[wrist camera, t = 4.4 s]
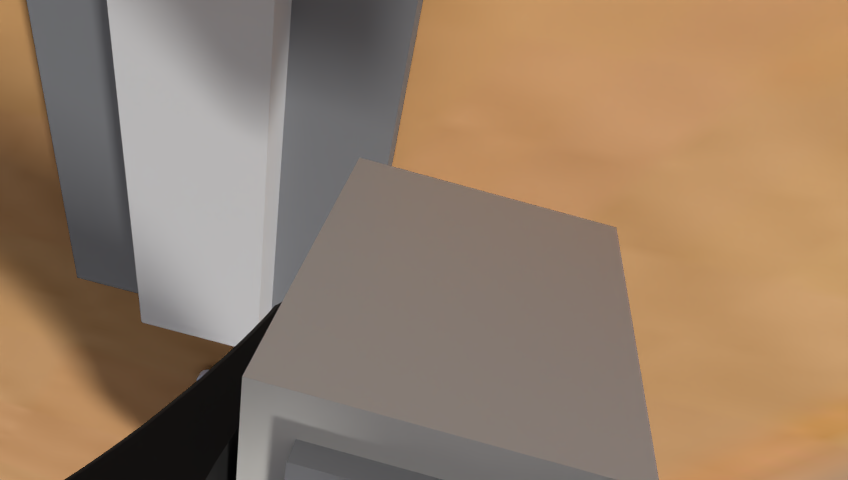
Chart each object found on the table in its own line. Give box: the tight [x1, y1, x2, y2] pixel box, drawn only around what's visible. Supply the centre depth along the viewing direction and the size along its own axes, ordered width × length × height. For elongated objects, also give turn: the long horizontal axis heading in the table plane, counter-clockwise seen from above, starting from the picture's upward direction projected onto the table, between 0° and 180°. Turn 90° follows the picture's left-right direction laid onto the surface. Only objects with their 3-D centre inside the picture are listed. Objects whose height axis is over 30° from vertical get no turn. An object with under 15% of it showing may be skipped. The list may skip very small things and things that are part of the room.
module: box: [236, 158, 659, 480], centre depth 10 cm, size 6×4×5 cm
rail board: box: [27, 0, 423, 347], centre depth 14 cm, size 20×10×5 cm, turn 169°
